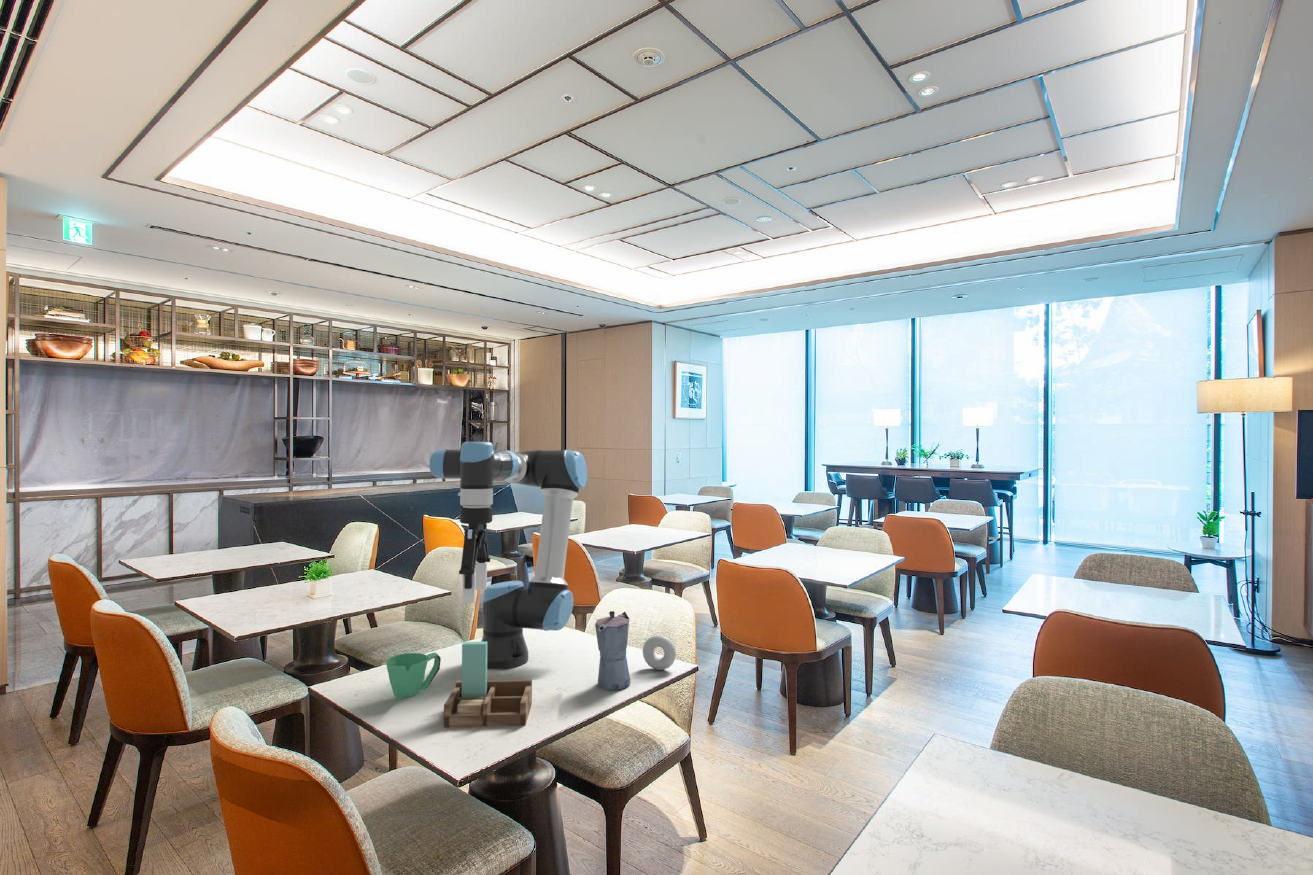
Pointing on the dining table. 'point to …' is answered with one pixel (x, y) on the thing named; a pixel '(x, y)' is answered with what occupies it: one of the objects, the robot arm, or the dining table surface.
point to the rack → (492, 705)
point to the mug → (410, 673)
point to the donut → (651, 657)
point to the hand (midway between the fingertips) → (475, 595)
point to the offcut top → (470, 706)
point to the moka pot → (613, 651)
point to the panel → (474, 669)
